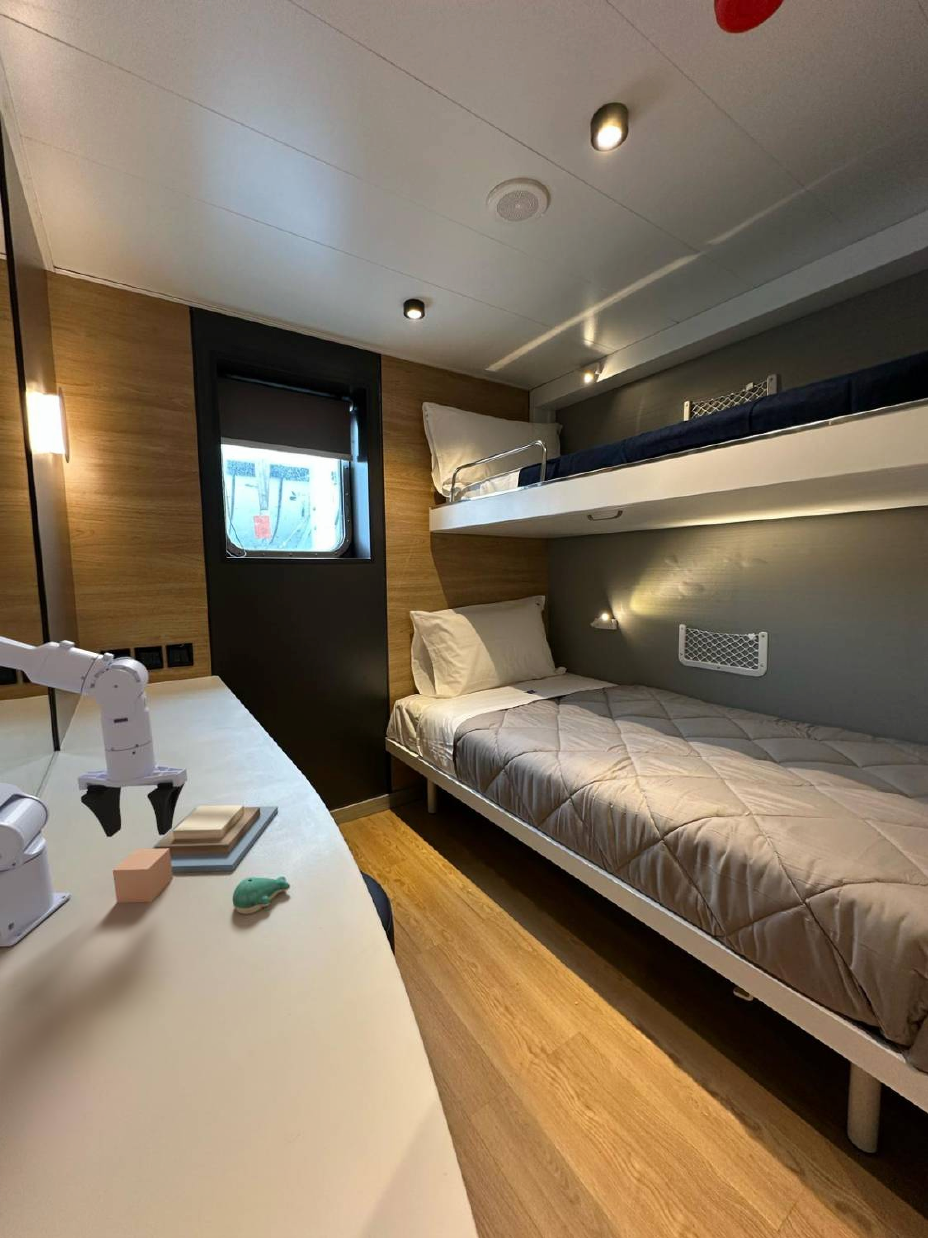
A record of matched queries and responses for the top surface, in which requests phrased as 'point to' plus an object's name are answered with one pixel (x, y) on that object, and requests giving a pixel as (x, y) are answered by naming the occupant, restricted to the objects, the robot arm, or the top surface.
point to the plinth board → (223, 858)
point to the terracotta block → (142, 875)
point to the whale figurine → (257, 893)
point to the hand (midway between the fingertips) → (139, 832)
